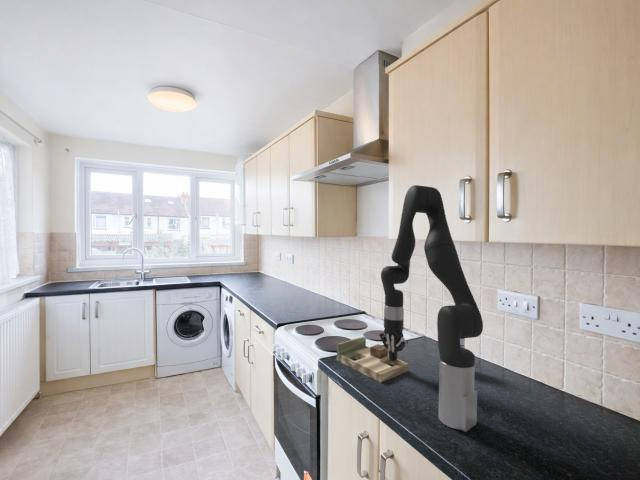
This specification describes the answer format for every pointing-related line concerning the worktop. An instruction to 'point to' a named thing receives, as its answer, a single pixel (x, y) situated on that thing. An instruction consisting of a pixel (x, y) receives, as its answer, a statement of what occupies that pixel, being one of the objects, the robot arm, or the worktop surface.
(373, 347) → the walnut block
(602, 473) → the worktop surface
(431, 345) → the worktop surface
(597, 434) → the worktop surface
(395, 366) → the tray
